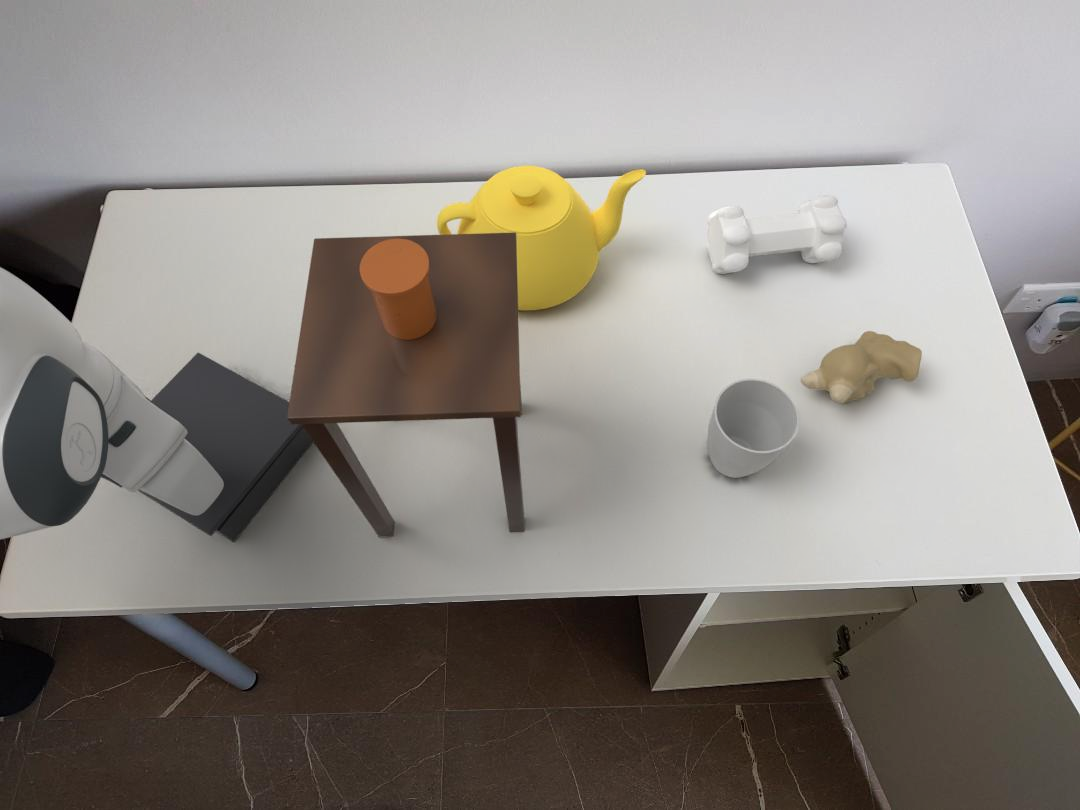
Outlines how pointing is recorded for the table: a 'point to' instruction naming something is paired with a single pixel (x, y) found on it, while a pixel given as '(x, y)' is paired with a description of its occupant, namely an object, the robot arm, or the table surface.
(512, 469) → the shelf legs
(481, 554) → the table surface
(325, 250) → the shelf top
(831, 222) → the bone shaped toy
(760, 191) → the table surface
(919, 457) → the table surface
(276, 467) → the hinged lid box
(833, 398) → the tan lumpy rounded piece
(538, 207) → the teapot
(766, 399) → the cup
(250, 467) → the lid
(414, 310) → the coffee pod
